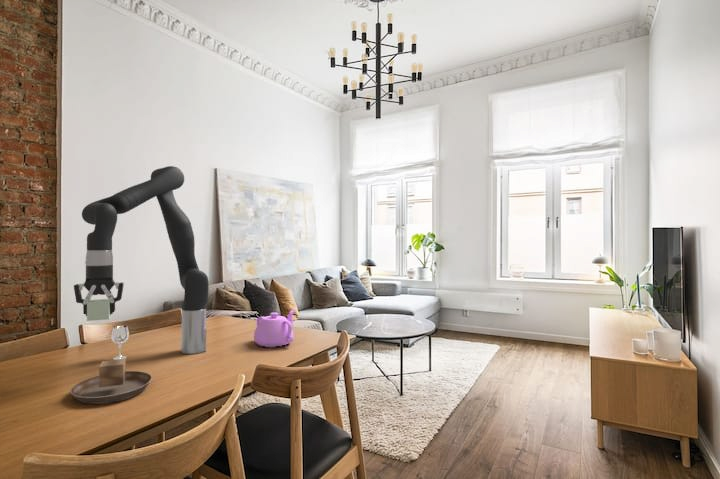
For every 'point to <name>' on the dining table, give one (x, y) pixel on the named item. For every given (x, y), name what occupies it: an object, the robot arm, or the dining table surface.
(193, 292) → the robot arm
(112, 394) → the plant saucer
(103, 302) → the green block
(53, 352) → the dining table surface
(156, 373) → the dining table surface
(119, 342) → the wineglass
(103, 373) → the walnut block
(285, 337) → the teapot
